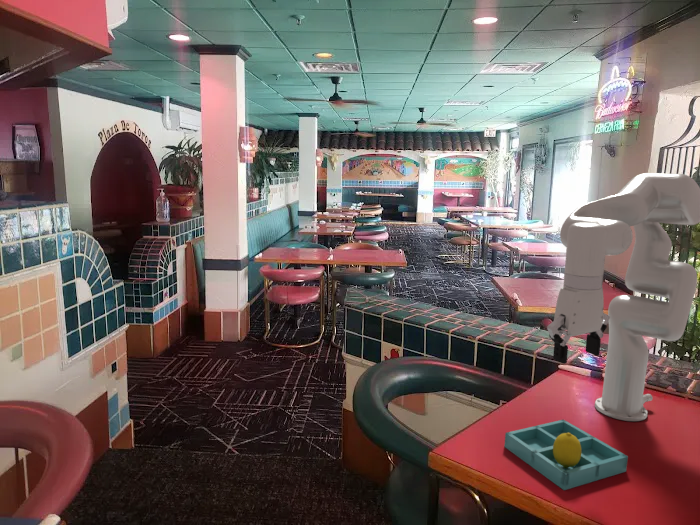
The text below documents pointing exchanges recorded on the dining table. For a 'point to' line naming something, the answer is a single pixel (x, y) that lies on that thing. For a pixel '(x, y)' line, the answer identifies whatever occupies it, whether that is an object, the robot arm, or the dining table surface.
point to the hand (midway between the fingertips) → (576, 357)
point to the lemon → (567, 450)
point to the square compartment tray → (538, 453)
